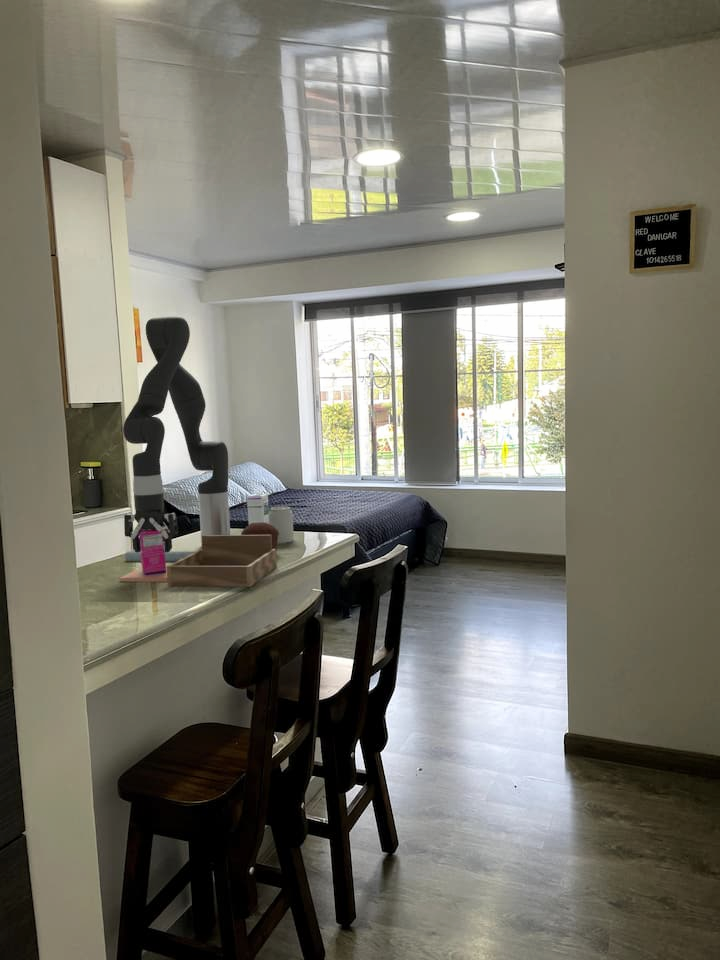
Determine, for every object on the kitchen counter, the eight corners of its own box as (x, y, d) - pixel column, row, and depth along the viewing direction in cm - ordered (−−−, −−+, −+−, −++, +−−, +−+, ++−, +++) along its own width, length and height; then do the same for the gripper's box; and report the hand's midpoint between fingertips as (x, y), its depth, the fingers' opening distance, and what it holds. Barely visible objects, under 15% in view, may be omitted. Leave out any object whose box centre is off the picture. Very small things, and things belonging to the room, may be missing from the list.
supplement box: (141, 571, 202) (138, 529, 201) (163, 568, 204) (160, 527, 203) (143, 575, 196) (140, 532, 195) (166, 572, 199) (164, 530, 198)
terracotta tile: (142, 570, 208) (142, 566, 208) (186, 570, 206) (186, 566, 205) (119, 581, 195) (119, 577, 195) (166, 581, 193) (166, 577, 193)
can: (273, 542, 243) (272, 505, 242) (296, 541, 242) (294, 505, 241) (267, 546, 236) (265, 509, 235) (290, 546, 235) (289, 508, 234)
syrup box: (265, 538, 252) (263, 495, 250) (248, 538, 253) (246, 495, 251) (270, 535, 257) (268, 493, 256) (254, 535, 258) (252, 493, 257)
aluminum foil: (201, 561, 219) (200, 550, 218) (191, 566, 212) (190, 555, 212) (130, 561, 224) (130, 550, 223) (119, 566, 217) (118, 554, 217)
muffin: (234, 560, 217) (232, 526, 216) (250, 552, 228) (248, 520, 227) (272, 561, 214) (270, 526, 213) (286, 553, 224) (285, 520, 223)
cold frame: (201, 566, 209) (199, 535, 209) (276, 566, 205) (275, 534, 205) (167, 586, 188) (165, 550, 187) (251, 586, 184) (249, 550, 183)
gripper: (179, 489, 200) (183, 549, 202) (130, 490, 203) (134, 549, 205) (167, 493, 193) (171, 554, 195) (116, 494, 196) (121, 554, 197)
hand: (152, 551), depth 200 cm, fingers open, 8 cm apart
